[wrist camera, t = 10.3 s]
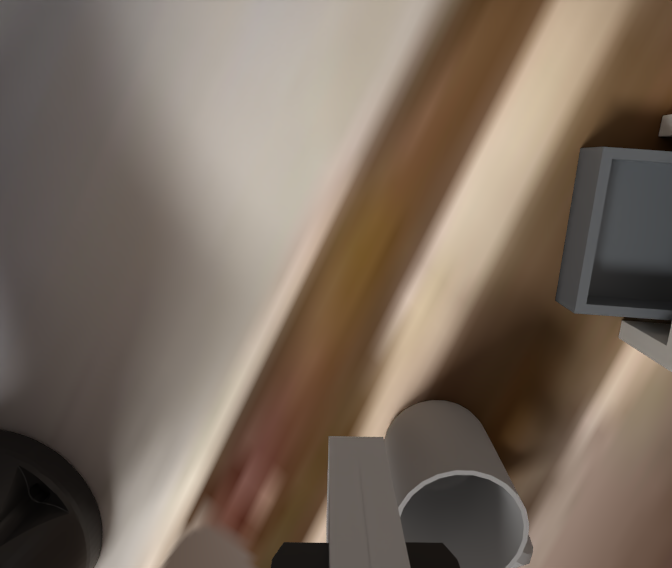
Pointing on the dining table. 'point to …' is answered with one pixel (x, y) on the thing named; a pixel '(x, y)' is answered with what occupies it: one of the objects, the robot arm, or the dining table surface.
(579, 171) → the grey storage tray
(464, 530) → the cup
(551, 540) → the dining table surface
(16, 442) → the robot arm
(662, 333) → the small white side table
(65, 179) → the dining table surface
